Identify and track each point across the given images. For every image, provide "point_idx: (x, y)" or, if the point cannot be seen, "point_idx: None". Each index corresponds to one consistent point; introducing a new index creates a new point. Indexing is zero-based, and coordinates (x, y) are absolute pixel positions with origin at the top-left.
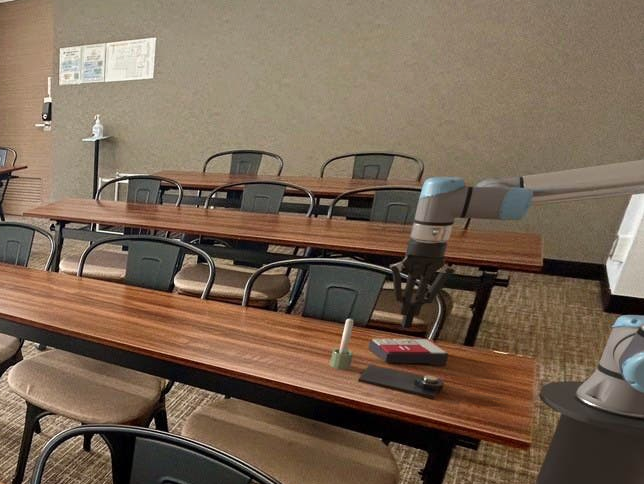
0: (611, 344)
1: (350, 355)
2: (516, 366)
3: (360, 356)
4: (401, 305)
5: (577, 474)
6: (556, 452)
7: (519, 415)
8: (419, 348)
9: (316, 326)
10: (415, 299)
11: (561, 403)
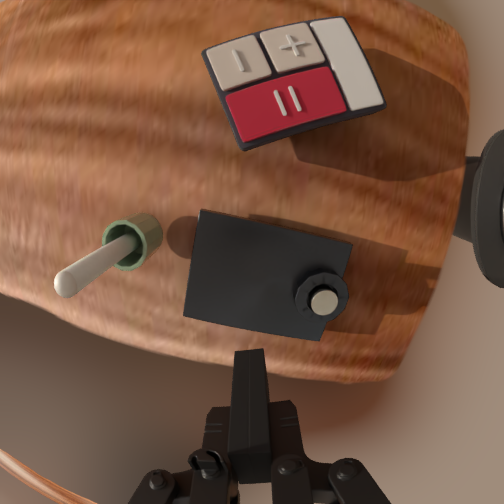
0: None
1: (142, 263)
2: (462, 70)
3: (191, 98)
4: (203, 447)
5: None
6: None
7: (425, 310)
8: (325, 90)
9: None
10: (272, 481)
11: (484, 236)
